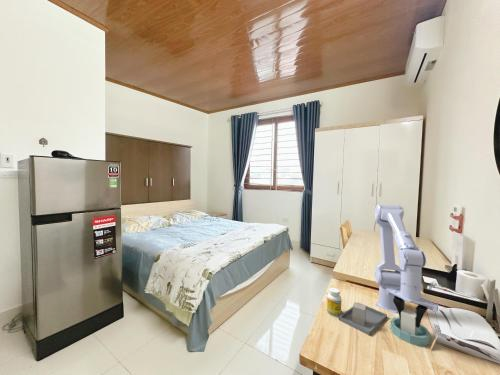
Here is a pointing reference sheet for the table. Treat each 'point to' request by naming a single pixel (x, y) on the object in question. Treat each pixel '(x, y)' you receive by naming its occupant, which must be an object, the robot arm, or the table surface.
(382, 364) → the table surface
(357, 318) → the light gray rectangular block
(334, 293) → the supplement bottle
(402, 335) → the bowl
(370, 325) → the tray
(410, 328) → the beige rectangular block
